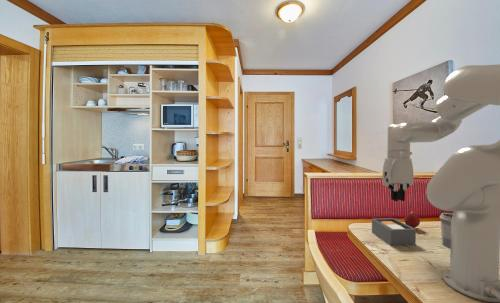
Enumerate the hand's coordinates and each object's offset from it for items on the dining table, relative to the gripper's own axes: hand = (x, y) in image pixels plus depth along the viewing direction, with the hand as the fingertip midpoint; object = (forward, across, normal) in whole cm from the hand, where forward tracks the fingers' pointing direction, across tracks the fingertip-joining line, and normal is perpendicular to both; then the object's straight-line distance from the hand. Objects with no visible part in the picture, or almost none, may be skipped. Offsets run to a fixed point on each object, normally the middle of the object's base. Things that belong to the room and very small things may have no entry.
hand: (397, 199), depth 88 cm
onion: (+17, -16, -12) cm, 26 cm away
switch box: (+17, 0, -3) cm, 17 cm away
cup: (+17, -18, +5) cm, 25 cm away
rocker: (+12, 0, -3) cm, 13 cm away
